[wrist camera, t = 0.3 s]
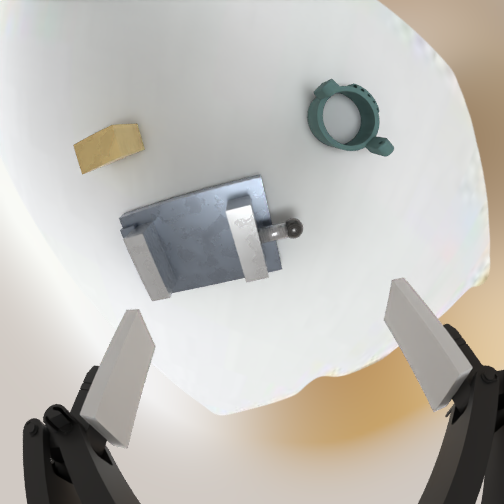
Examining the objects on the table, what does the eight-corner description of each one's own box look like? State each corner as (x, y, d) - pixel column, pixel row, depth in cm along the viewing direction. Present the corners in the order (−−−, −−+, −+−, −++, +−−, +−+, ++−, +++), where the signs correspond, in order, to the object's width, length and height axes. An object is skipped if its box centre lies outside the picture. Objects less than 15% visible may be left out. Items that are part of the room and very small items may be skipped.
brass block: (102, 139, 32) (73, 144, 25) (137, 123, 32) (112, 124, 25) (110, 163, 34) (82, 174, 27) (144, 149, 34) (121, 156, 26)
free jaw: (227, 200, 35) (225, 211, 31) (292, 185, 35) (299, 193, 31) (246, 265, 40) (246, 282, 36) (305, 252, 39) (311, 267, 35)
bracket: (363, 150, 35) (395, 158, 27) (302, 144, 34) (321, 149, 26) (366, 91, 31) (398, 85, 23) (304, 82, 30) (323, 69, 22)
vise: (124, 213, 38) (105, 229, 32) (260, 174, 36) (263, 184, 30) (156, 289, 44) (146, 313, 38) (280, 262, 42) (286, 285, 36)
